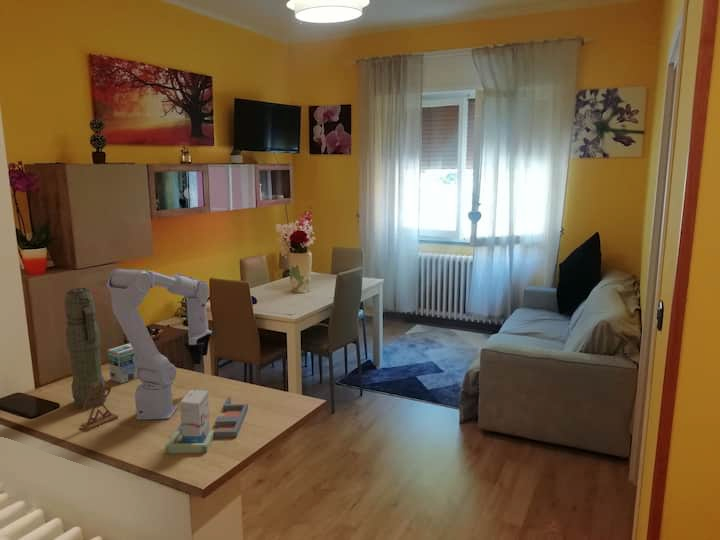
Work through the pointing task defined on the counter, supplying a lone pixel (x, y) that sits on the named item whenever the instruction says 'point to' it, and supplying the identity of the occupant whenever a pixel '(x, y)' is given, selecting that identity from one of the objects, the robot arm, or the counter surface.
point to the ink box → (195, 416)
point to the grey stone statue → (83, 346)
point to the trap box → (226, 428)
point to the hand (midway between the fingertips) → (200, 359)
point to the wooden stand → (106, 416)
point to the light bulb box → (122, 363)
